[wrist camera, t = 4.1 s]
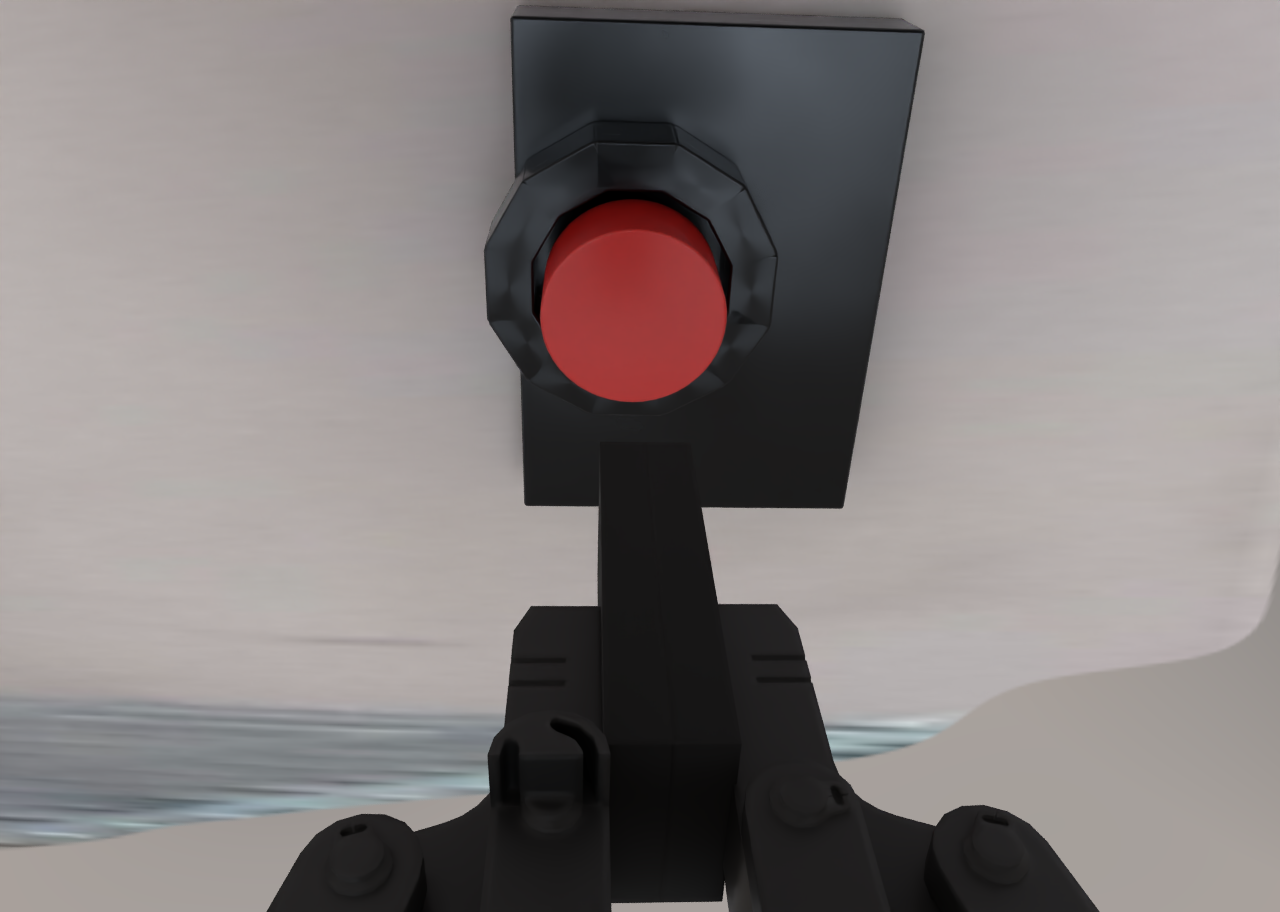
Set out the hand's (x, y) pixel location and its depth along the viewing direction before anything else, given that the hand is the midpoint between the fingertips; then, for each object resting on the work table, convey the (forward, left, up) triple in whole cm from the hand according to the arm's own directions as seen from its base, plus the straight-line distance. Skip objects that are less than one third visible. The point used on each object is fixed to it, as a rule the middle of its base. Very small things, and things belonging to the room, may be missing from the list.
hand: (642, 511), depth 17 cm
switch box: (+1, +2, -14) cm, 14 cm away
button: (0, 0, -10) cm, 10 cm away
